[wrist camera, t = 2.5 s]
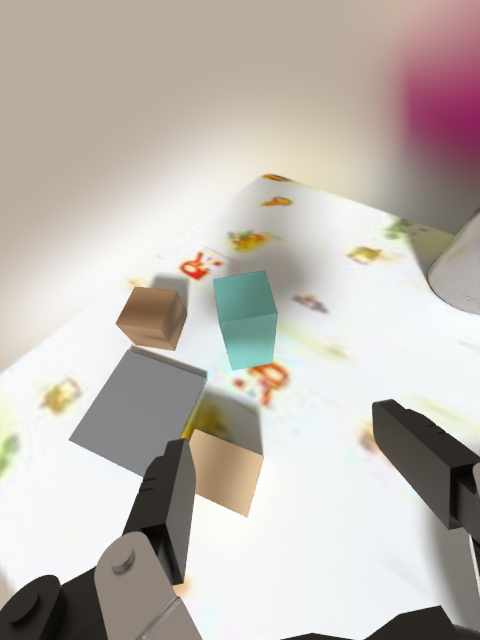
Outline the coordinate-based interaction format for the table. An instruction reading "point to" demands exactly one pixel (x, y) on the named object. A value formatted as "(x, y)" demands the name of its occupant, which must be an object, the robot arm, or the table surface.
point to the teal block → (246, 318)
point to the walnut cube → (153, 318)
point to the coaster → (139, 412)
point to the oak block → (225, 471)
